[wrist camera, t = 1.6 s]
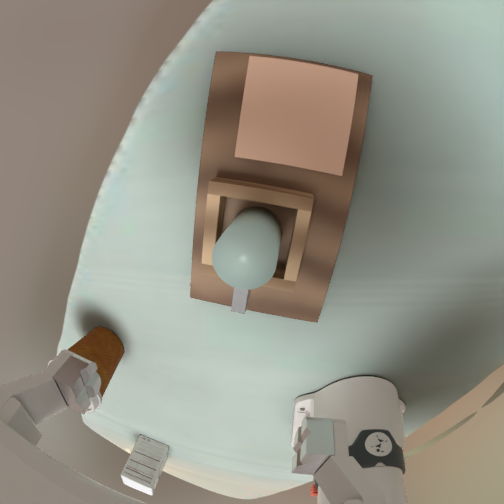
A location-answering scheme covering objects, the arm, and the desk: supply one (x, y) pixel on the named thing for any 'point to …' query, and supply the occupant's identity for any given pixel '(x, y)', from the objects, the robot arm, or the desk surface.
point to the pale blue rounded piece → (248, 253)
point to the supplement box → (145, 465)
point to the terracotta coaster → (296, 114)
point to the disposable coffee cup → (100, 357)
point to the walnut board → (270, 201)
